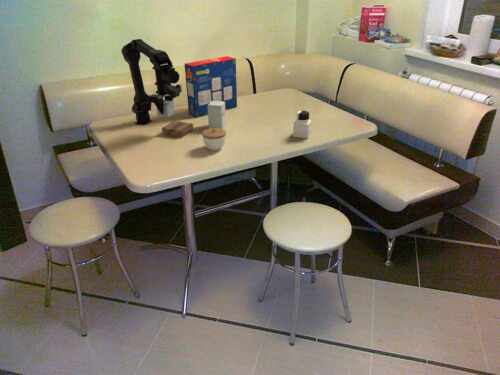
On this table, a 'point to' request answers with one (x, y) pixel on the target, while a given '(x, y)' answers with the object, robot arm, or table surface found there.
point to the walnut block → (177, 129)
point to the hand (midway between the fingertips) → (166, 112)
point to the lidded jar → (214, 138)
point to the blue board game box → (210, 84)
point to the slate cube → (167, 108)
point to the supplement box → (216, 114)
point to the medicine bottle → (302, 125)
